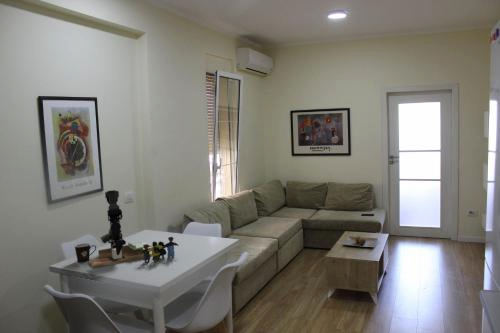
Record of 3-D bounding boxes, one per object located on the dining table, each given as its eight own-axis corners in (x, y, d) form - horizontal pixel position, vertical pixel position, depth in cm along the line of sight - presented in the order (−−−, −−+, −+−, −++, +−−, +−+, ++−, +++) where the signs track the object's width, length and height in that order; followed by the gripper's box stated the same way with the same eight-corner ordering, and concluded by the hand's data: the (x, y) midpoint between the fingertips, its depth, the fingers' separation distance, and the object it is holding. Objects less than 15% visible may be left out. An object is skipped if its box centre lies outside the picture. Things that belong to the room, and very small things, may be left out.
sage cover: (128, 246, 259) (128, 242, 259) (145, 243, 265) (145, 239, 265) (134, 249, 250) (133, 245, 250) (151, 246, 257) (151, 242, 256)
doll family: (171, 254, 261) (170, 233, 260) (180, 256, 255) (179, 235, 254) (139, 264, 243) (138, 241, 242) (149, 266, 237) (147, 243, 236)
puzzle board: (88, 263, 247) (87, 252, 247) (144, 252, 267) (143, 241, 266) (94, 269, 237) (93, 257, 236) (151, 257, 256) (150, 246, 255)
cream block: (112, 257, 251) (111, 248, 250) (119, 256, 253) (119, 247, 253) (114, 259, 247) (113, 250, 247) (122, 257, 250) (121, 248, 249)
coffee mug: (74, 264, 248) (73, 247, 247) (77, 260, 256) (76, 244, 255) (94, 262, 250) (93, 245, 249) (97, 258, 258) (96, 242, 257)
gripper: (97, 228, 252) (99, 253, 253) (105, 233, 237) (107, 260, 238) (115, 225, 258) (117, 249, 260) (125, 230, 243) (127, 256, 244)
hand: (116, 254), depth 250 cm, fingers closed on cream block, 4 cm apart
